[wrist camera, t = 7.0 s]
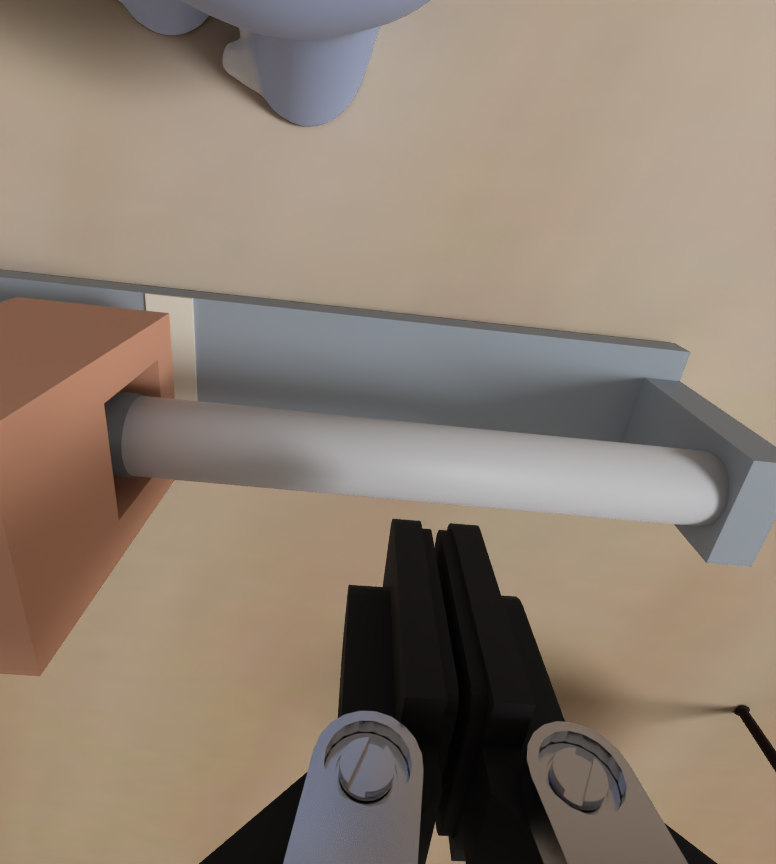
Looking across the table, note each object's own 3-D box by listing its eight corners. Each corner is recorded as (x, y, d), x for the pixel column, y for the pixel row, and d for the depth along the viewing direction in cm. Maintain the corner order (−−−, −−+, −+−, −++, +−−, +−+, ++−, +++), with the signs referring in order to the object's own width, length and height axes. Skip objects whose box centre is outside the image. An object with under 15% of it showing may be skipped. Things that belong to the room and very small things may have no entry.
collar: (179, 472, 17) (40, 675, 10) (47, 460, 16) (-190, 660, 10) (169, 312, 14) (-19, 432, 8) (16, 297, 14) (-317, 405, 7)
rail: (629, 470, 20) (735, 596, 14) (2, 411, 19) (-177, 522, 13) (674, 343, 18) (822, 426, 12) (-30, 266, 17) (-263, 316, 11)
